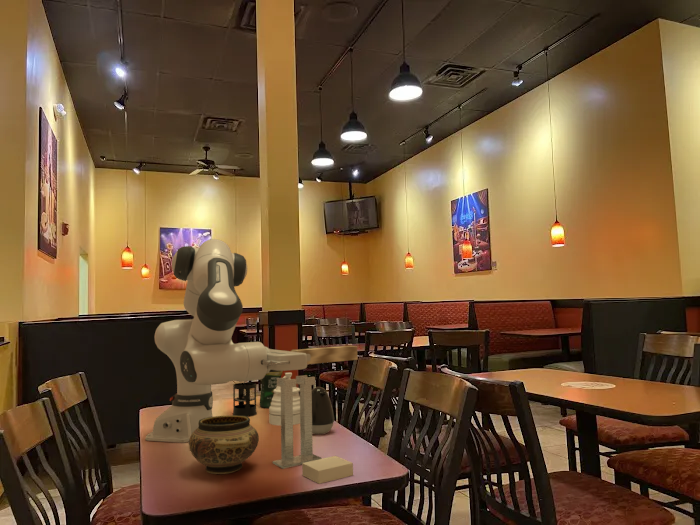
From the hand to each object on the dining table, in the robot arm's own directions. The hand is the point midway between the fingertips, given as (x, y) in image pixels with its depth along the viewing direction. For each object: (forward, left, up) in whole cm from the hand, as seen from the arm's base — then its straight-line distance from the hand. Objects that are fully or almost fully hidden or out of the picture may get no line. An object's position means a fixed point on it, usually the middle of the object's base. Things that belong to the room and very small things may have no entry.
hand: (304, 356), depth 129 cm
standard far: (-3, +17, -30) cm, 35 cm away
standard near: (-8, +13, -30) cm, 34 cm away
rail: (+5, +4, -2) cm, 6 cm away
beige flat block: (+5, +4, -30) cm, 31 cm away
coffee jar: (-32, +94, -30) cm, 103 cm away
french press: (-39, +78, -30) cm, 92 cm away
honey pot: (-19, +65, -30) cm, 74 cm away
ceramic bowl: (-24, +9, -30) cm, 39 cm away
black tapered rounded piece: (-4, +48, -30) cm, 56 cm away
